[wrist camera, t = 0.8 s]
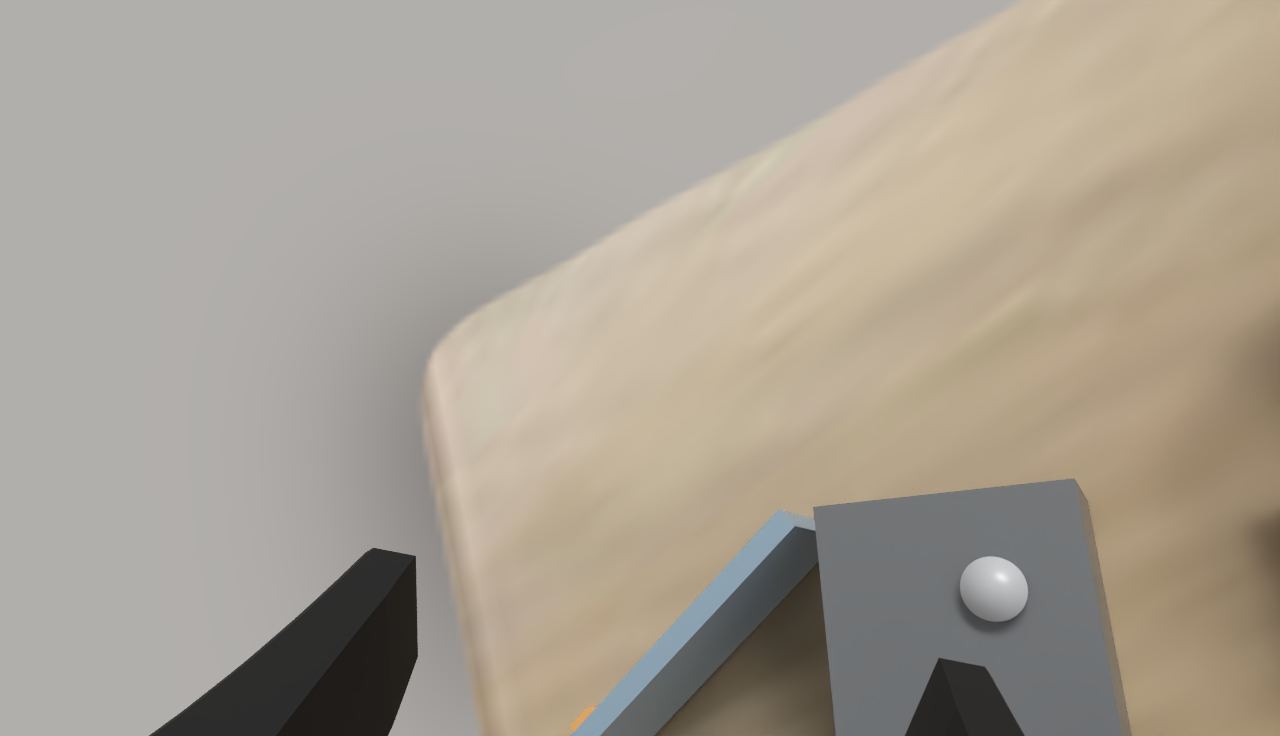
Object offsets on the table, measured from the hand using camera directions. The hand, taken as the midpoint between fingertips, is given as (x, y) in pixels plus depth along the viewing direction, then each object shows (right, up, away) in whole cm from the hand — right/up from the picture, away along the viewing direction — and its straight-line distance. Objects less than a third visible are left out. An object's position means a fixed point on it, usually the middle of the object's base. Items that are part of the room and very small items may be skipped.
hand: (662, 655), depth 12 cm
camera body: (+9, -5, +11) cm, 15 cm away
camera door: (+2, -4, +15) cm, 16 cm away
